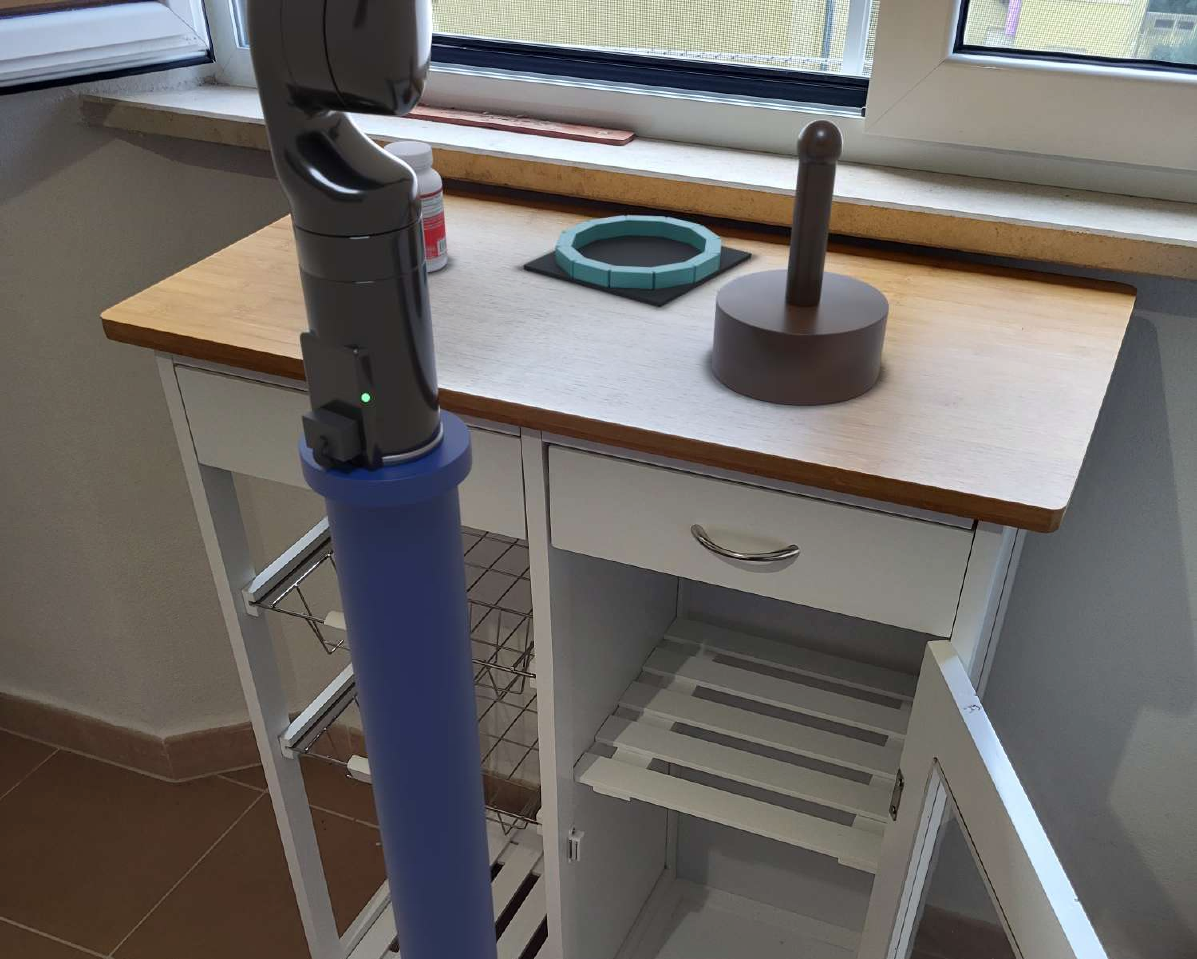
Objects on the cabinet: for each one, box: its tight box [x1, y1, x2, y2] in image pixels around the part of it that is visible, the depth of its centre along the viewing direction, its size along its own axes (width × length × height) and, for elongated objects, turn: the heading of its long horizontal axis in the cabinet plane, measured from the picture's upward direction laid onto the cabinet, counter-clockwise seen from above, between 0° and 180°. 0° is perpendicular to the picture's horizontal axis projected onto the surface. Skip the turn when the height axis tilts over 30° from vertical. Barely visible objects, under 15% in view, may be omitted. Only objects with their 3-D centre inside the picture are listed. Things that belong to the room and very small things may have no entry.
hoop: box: [555, 214, 723, 289], centre depth 127 cm, size 17×17×2 cm
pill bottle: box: [383, 140, 448, 273], centre depth 123 cm, size 6×6×11 cm
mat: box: [522, 235, 753, 308], centre depth 127 cm, size 17×17×1 cm
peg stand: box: [711, 118, 890, 406], centre depth 102 cm, size 15×15×20 cm
